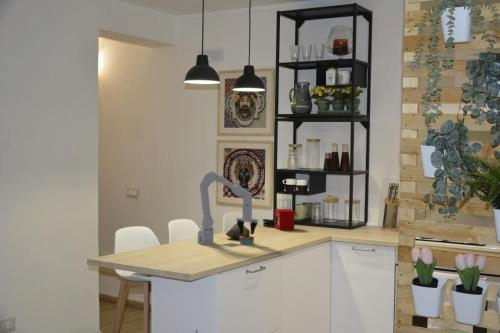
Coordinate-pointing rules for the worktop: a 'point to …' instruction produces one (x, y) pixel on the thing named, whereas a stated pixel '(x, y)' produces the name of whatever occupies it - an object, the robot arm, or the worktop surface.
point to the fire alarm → (284, 219)
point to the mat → (231, 245)
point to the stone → (235, 232)
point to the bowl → (246, 242)
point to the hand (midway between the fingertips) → (246, 233)
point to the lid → (246, 235)
